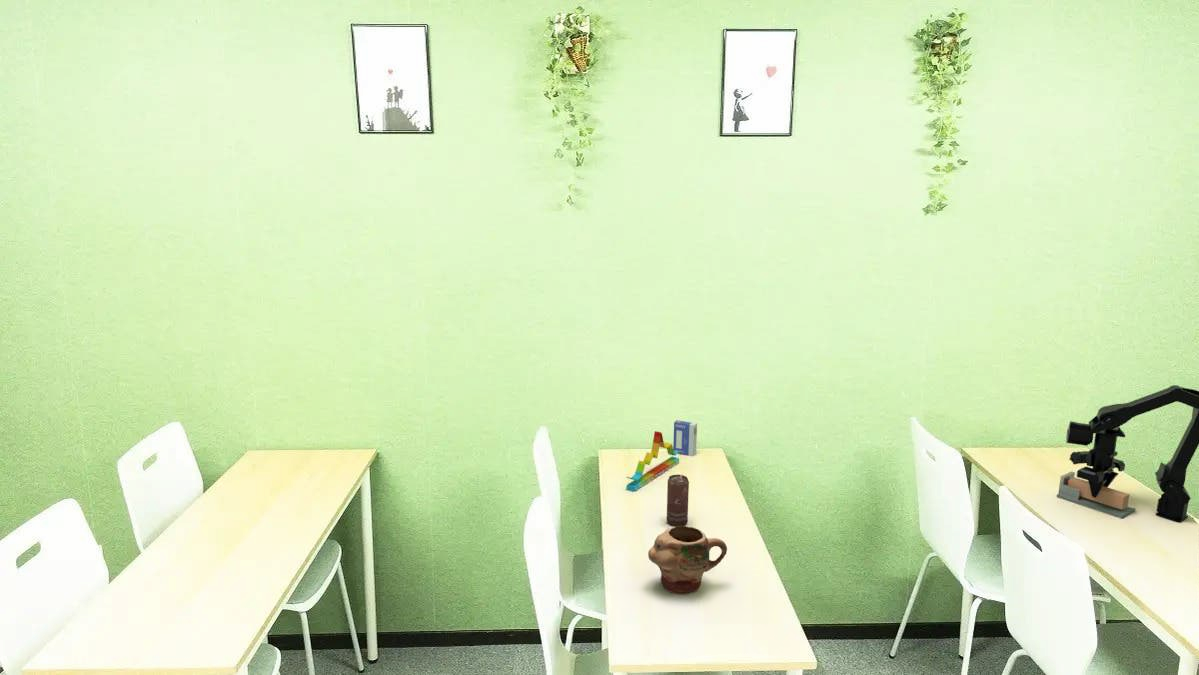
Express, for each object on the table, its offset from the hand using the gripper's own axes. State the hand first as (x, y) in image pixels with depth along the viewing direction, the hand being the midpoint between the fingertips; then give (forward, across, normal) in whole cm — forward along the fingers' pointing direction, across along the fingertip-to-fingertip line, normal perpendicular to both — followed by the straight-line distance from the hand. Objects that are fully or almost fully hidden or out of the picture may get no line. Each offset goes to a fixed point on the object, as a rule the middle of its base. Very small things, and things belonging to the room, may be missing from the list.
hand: (1097, 495), depth 252 cm
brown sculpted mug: (+3, +137, -37) cm, 141 cm away
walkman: (+3, +77, -106) cm, 131 cm away
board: (+3, 0, 0) cm, 3 cm away
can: (+3, +116, -65) cm, 133 cm away
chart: (+3, +99, -96) cm, 138 cm away
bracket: (+3, 0, -6) cm, 7 cm away
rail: (+1, 0, 0) cm, 1 cm away
